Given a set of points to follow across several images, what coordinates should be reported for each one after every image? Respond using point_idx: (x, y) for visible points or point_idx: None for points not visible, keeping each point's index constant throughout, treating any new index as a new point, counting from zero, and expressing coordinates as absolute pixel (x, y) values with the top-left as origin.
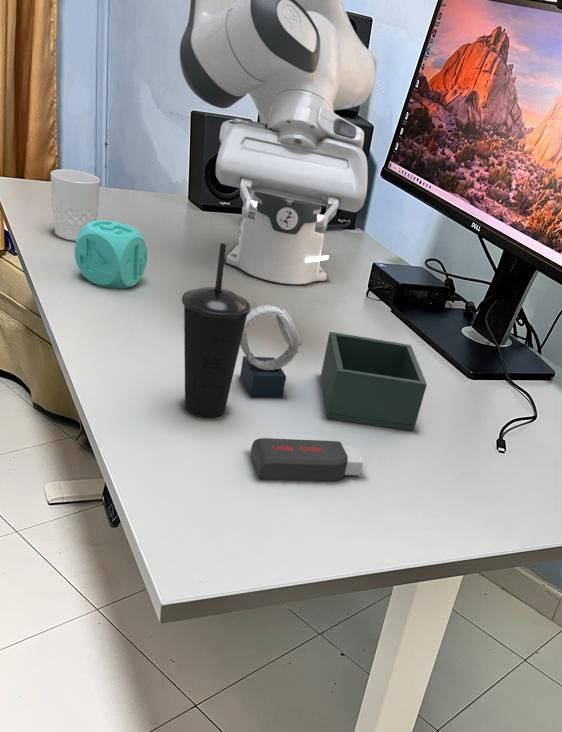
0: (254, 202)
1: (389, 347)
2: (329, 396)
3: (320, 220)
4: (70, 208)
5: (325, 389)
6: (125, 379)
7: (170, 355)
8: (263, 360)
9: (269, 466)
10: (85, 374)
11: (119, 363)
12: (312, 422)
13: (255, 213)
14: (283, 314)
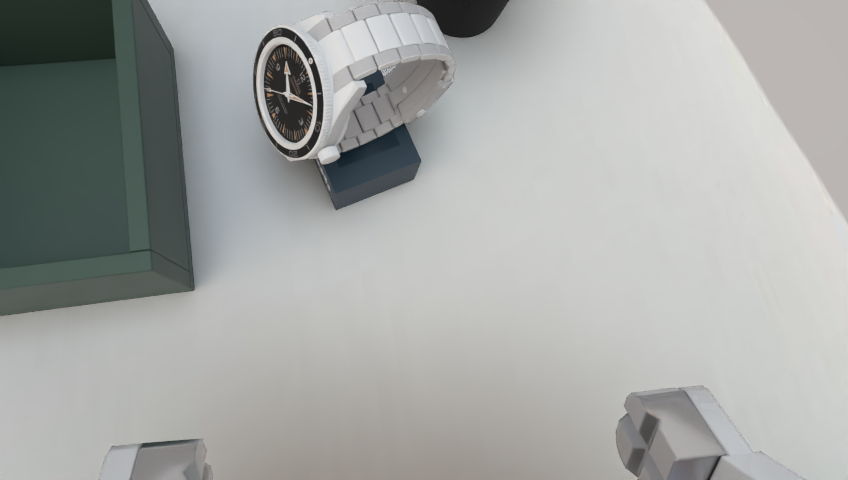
0: (690, 444)
1: None
2: (163, 58)
3: (160, 475)
4: None
5: (176, 150)
6: (642, 64)
7: (598, 229)
8: (363, 160)
9: None
10: (716, 55)
11: (680, 133)
12: (211, 20)
13: (633, 394)
14: (322, 26)
